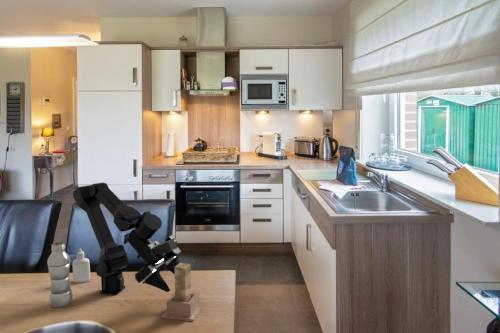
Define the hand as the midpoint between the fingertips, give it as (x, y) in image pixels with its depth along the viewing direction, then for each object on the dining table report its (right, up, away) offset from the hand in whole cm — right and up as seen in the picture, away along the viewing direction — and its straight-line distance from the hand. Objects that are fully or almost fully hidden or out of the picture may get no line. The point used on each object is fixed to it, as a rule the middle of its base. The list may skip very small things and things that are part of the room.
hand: (176, 285), depth 125 cm
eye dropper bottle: (-38, -5, +23) cm, 45 cm away
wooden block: (+2, -8, 0) cm, 8 cm away
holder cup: (+2, -8, 0) cm, 8 cm away
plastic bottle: (-37, -8, +4) cm, 38 cm away
